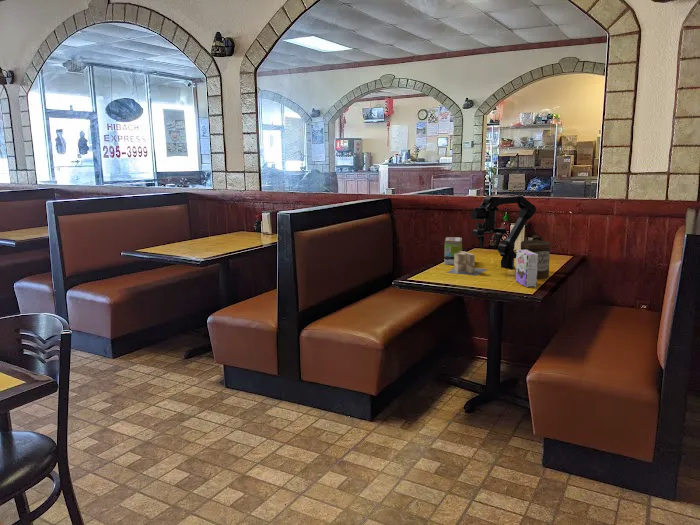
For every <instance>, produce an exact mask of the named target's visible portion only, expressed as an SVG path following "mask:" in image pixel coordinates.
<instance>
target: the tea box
mask: <svg viewBox="0 0 700 525" xmlns="http://www.w3.org/2000/svg"><path fill="white" fill-rule="evenodd" d="M460 251H463V237H458V236H457V237H456V236H455V237H453V236H452V237H451V236H449V237H448V236H447V237H445V239H444V259H443V260H444V263H443V264H444V265H454V253H459V252H460Z"/></svg>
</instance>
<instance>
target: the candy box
mask: <svg viewBox="0 0 700 525" xmlns="http://www.w3.org/2000/svg"><path fill="white" fill-rule="evenodd" d="M515 253H516V258H515V259H516V260H515V282H516V283H518V284H519V285H521V286H523V287H524V286H525V288H537V284H538V283H537V282H538V279H537V267H538V254H535V253H533V252H531V251H529V250H521V249H516V251H515Z"/></svg>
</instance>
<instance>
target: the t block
mask: <svg viewBox="0 0 700 525" xmlns="http://www.w3.org/2000/svg"><path fill="white" fill-rule="evenodd" d="M475 257H476V255H475V254H474V253H470V252H469V251H468V252H467V251H465V250H464V251H463V250H462V251H460V252H459V253H454V264H453V266H454V267H453V269H454V270H457V271H467V273H474V268H475V264H476V263H475V262H476V261H475V259H476V258H475Z"/></svg>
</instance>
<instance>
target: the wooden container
mask: <svg viewBox="0 0 700 525" xmlns="http://www.w3.org/2000/svg"><path fill="white" fill-rule="evenodd" d="M531 238H532V239H530V240H529V239H527V240H522V241H520V250H529V251H531V252H533V253H535V254H538V267H537V280H543V279H547V278H549V274H550V255H551V254H550V252H551V251H550V250H551V248H550V247H551V243H550V242H551V241H550V242H549V241H546V240H540V239H539V238H540V236H539V235H538V234H533V235H532V236H531Z"/></svg>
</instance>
